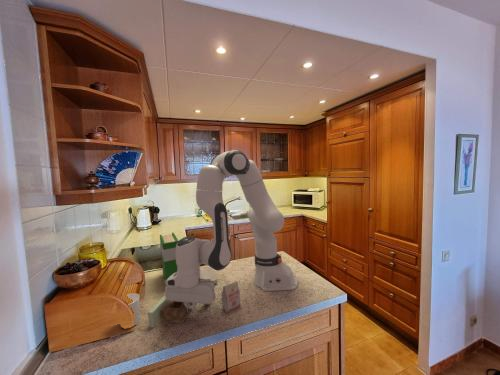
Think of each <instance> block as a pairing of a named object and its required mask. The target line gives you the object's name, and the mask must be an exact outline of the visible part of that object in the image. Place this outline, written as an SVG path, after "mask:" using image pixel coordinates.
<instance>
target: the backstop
mask: <svg viewBox="0 0 500 375" xmlns="http://www.w3.org/2000/svg"><path fill="white" fill-rule="evenodd" d="M168 302H169V301H167V300H166V298H165V295H163V296H162V298H160V299H159V301H157V302H156V304H154V306H153V307H152V308H151V309H150V310H148V312H147V315H148V316H147V317H148V327H149V328H152V327H154V328H155V327H156V326H157V325H158V324H159V322H160V321H161V312H160V310H161V309H162V308H163V307H164V306H165V305H166V304H167V303H168ZM157 323H158V324H157ZM156 324H157V325H156Z"/></svg>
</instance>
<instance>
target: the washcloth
mask: <svg viewBox="0 0 500 375" xmlns="http://www.w3.org/2000/svg"><path fill="white" fill-rule="evenodd" d="M215 271H216V270H215V269H213V268H211V267H207V268H205V269H200V278H201V279H210V280H211V281H213V282H214V286H216V285H218V276H217V274H216V272H215ZM211 281H210V282H211Z"/></svg>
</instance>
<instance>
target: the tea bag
mask: <svg viewBox="0 0 500 375" xmlns="http://www.w3.org/2000/svg"><path fill="white" fill-rule="evenodd" d="M221 303H222V304H221V305H222V309H223V310H224V311H225V312H226V313H227V312H229V311H232V310H234V309H236V308H238V307H239V306H241V304H242V303H241V291H240V287H239V282H238V281H234V282H232V283H229V284H226V285H224V286H223V287H222V291H221Z"/></svg>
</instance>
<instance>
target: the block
mask: <svg viewBox="0 0 500 375" xmlns="http://www.w3.org/2000/svg"><path fill="white" fill-rule="evenodd" d="M189 304H190V306H193V305H192V303H190V302H189ZM160 312H161V320H160V321H161V322H166V323H177V324H183V323H184V321H185V320H186V318H187V317H188V316H189V314H190V313H191V312H187V308H186V307H185V305H184V302H176V301H169V302H168V303H167V304H166V305H165V306H164V307H163V308H162V309H161V310H160Z"/></svg>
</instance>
